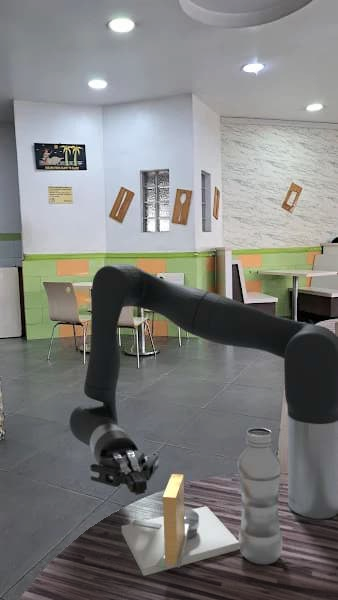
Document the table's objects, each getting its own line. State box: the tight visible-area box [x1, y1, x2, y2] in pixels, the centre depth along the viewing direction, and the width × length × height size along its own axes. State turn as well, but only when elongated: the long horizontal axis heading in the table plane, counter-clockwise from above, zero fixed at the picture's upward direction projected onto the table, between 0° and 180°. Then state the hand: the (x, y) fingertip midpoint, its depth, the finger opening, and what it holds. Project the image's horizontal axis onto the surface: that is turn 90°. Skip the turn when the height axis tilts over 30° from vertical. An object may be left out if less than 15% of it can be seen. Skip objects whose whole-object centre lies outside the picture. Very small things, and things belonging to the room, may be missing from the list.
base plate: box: [121, 505, 240, 577], centre depth 78 cm, size 16×14×2 cm
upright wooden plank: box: [162, 473, 199, 568], centre depth 74 cm, size 14×5×11 cm, turn 169°
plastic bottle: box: [236, 427, 284, 566], centre depth 73 cm, size 6×7×20 cm
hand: (140, 488), depth 76 cm, fingers closed
